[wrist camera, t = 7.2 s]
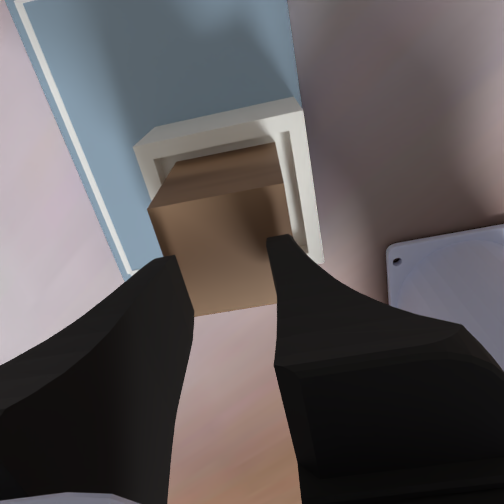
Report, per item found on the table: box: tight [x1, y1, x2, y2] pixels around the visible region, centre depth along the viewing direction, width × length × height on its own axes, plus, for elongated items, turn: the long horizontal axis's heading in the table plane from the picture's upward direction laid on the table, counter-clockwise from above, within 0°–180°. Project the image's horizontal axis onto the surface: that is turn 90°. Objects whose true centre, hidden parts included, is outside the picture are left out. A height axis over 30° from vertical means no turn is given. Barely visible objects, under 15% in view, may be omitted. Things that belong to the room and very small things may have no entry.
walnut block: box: [147, 142, 293, 317], centre depth 14 cm, size 4×4×5 cm
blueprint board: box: [5, 0, 325, 282], centre depth 17 cm, size 14×11×5 cm
